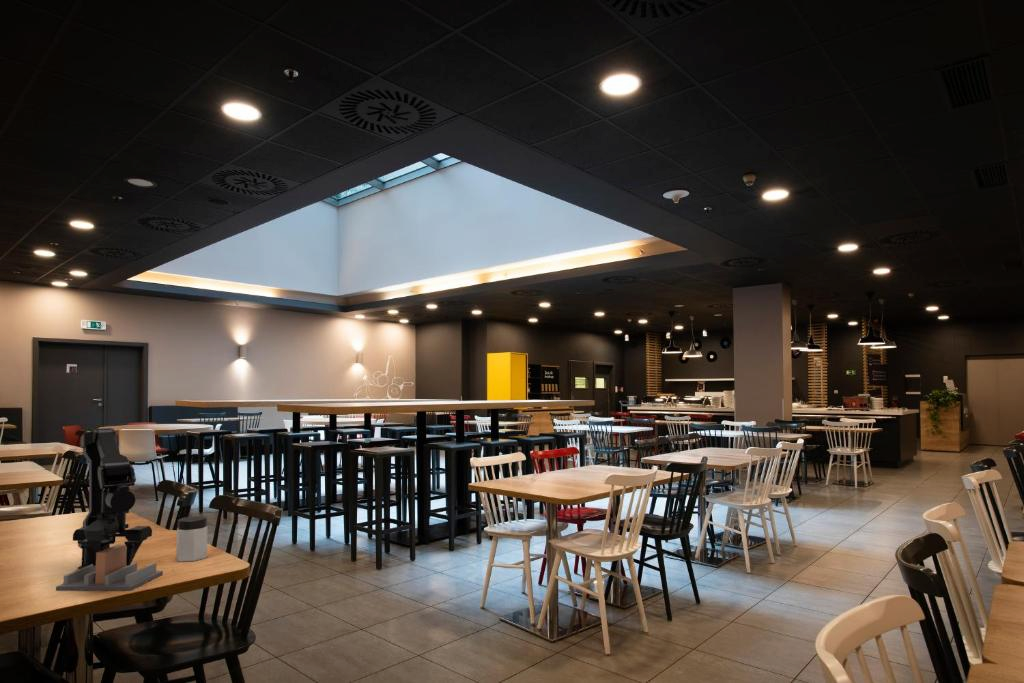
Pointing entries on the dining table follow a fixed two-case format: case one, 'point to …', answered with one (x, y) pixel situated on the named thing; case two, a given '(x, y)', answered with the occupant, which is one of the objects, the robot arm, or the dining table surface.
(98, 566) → the brown flat rectangular slab
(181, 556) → the jar
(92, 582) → the rack
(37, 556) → the dining table surface
